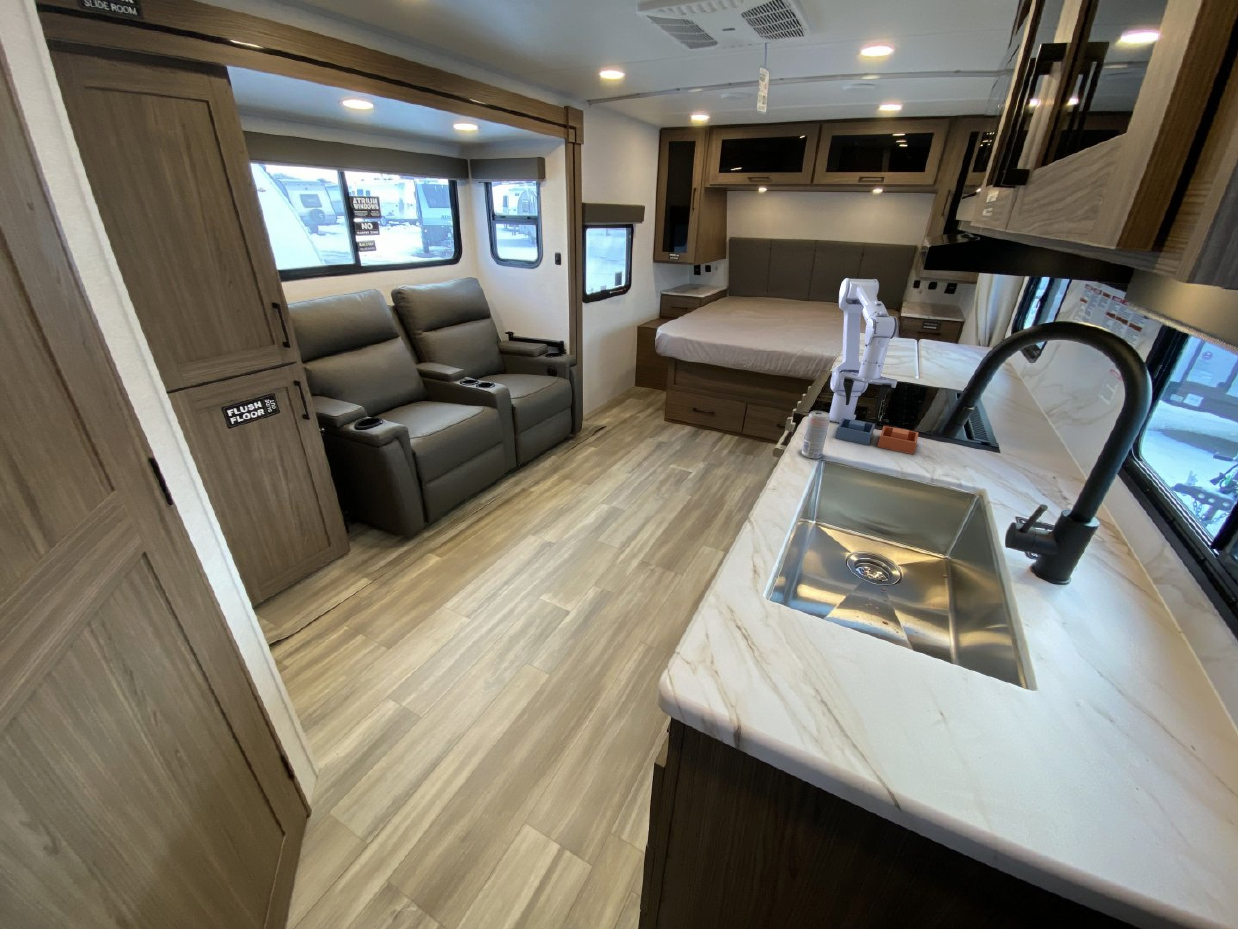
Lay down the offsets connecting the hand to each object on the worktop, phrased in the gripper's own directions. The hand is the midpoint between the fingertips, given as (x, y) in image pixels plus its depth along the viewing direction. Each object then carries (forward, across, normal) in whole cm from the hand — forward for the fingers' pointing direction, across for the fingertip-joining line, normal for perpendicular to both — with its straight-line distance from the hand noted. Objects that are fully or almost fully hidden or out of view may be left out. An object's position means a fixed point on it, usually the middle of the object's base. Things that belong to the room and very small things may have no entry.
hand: (861, 406), depth 144 cm
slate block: (+9, 0, 0) cm, 9 cm away
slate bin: (+9, 0, 0) cm, 9 cm away
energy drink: (+10, -8, -21) cm, 24 cm away
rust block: (+9, +12, 0) cm, 15 cm away
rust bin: (+9, +12, 0) cm, 15 cm away
